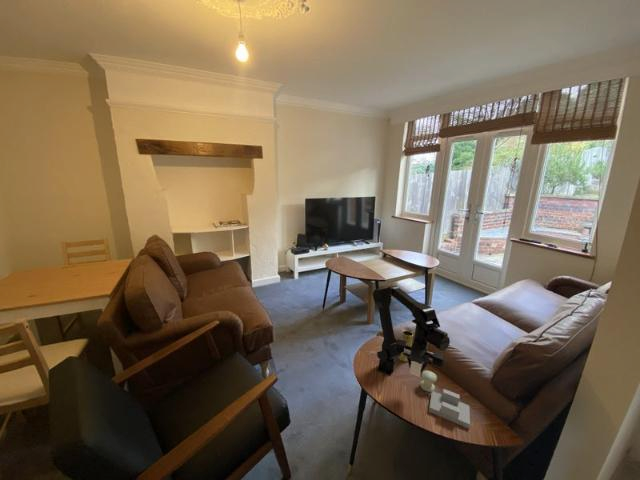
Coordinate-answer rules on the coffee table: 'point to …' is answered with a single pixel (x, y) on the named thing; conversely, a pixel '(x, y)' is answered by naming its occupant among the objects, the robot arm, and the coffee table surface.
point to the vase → (408, 338)
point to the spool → (428, 381)
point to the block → (415, 368)
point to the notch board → (462, 407)
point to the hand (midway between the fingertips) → (415, 370)
